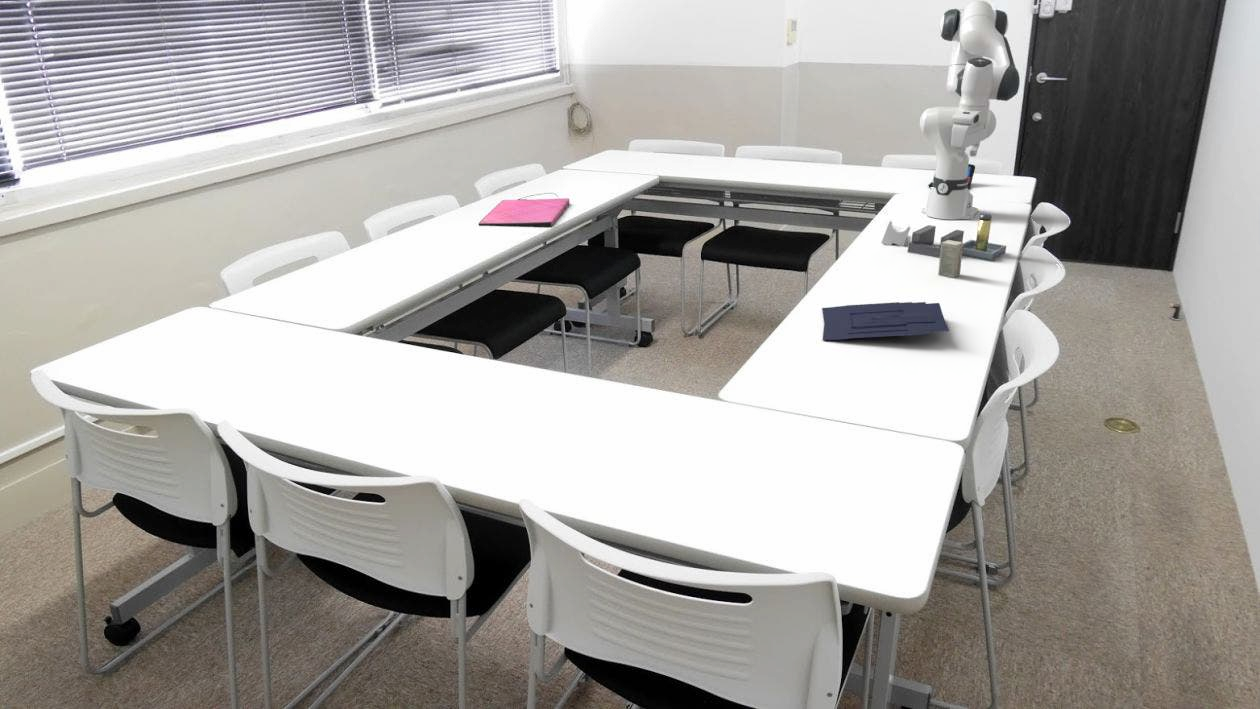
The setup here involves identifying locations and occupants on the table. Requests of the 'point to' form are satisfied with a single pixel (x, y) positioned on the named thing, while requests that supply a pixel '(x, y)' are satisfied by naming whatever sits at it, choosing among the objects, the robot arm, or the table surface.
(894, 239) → the bracket
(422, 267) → the table surface
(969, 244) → the tray
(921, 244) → the clevis block
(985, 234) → the pin
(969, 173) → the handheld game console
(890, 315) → the navy flat slab
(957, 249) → the skincare box
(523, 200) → the laptop bag
